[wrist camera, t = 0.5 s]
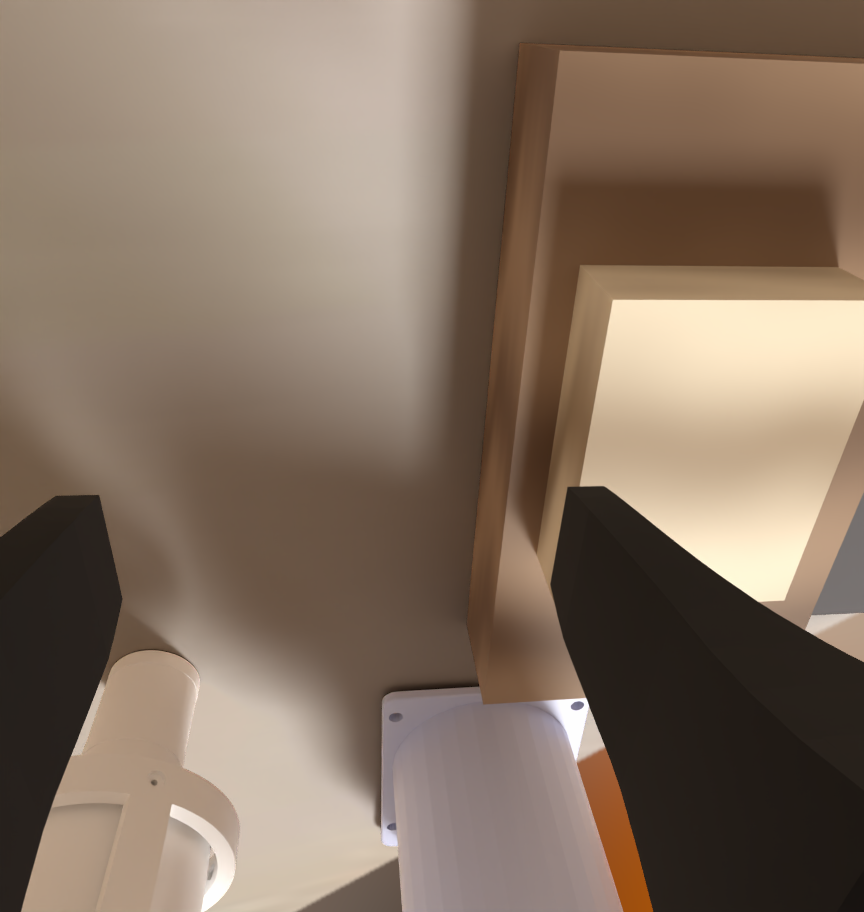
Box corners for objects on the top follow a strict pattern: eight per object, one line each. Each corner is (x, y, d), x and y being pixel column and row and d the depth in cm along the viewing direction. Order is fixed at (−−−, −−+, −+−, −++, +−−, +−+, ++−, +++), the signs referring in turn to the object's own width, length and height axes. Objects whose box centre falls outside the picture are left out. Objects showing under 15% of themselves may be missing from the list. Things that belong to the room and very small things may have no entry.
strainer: (88, 578, 23) (-222, 1288, 10) (291, 647, 25) (245, 1285, 13) (19, 714, 26) (-291, 1405, 13) (209, 764, 28) (104, 1382, 16)
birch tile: (743, 546, 20) (784, 600, 19) (536, 554, 20) (557, 611, 18) (838, 267, 16) (903, 300, 14) (579, 264, 16) (612, 300, 14)
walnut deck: (731, 611, 27) (780, 685, 24) (466, 624, 26) (483, 704, 23) (924, 61, 17) (1043, 71, 15) (519, 43, 16) (560, 50, 13)
